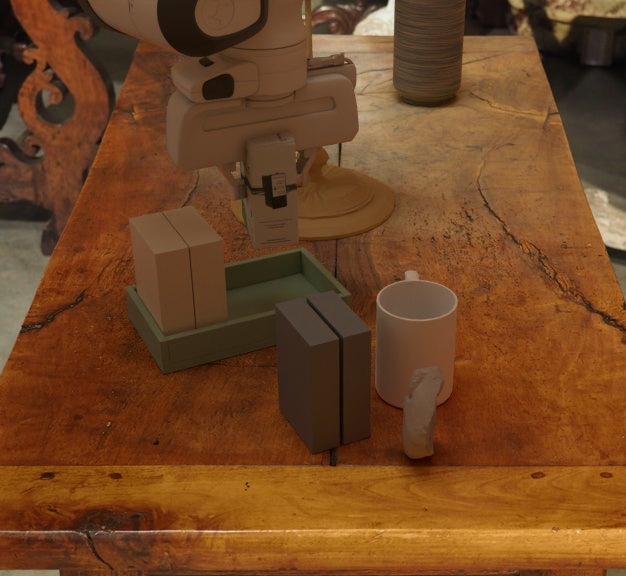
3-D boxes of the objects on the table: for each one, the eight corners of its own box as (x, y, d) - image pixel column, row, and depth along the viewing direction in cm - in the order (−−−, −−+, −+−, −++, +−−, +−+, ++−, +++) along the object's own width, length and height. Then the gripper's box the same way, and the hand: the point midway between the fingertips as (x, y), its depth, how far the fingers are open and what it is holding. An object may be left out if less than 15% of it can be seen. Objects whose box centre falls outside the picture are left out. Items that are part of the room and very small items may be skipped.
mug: (457, 410, 106) (462, 319, 100) (377, 412, 105) (378, 321, 100) (444, 343, 116) (448, 258, 111) (371, 345, 116) (372, 259, 111)
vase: (409, 113, 177) (414, -28, 165) (381, 90, 186) (383, -45, 174) (472, 104, 181) (480, -34, 169) (441, 82, 190) (447, -50, 179)
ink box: (240, 215, 119) (235, 114, 113) (284, 211, 120) (281, 110, 114) (253, 251, 112) (248, 145, 106) (300, 246, 113) (297, 141, 107)
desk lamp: (192, 246, 135) (165, -85, 115) (203, 171, 155) (182, -121, 135) (436, 240, 137) (451, -85, 117) (416, 167, 157) (426, -121, 137)
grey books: (312, 454, 99) (310, 346, 93) (278, 408, 106) (274, 304, 100) (370, 436, 102) (371, 329, 96) (333, 392, 108) (333, 289, 102)
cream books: (165, 356, 111) (154, 254, 105) (139, 315, 118) (128, 217, 112) (229, 339, 114) (223, 239, 108) (201, 301, 121) (193, 205, 115)
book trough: (163, 374, 110) (160, 342, 108) (128, 317, 120) (124, 286, 118) (351, 325, 119) (351, 294, 117) (304, 275, 129) (304, 246, 127)
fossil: (431, 482, 96) (436, 391, 91) (393, 475, 97) (396, 385, 92) (443, 443, 101) (448, 354, 96) (407, 437, 102) (410, 349, 97)
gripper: (342, 43, 113) (342, 164, 120) (154, 69, 105) (166, 198, 112) (369, 60, 109) (368, 185, 115) (175, 89, 100) (186, 222, 107)
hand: (267, 191), depth 114 cm, fingers closed on ink box, 5 cm apart
